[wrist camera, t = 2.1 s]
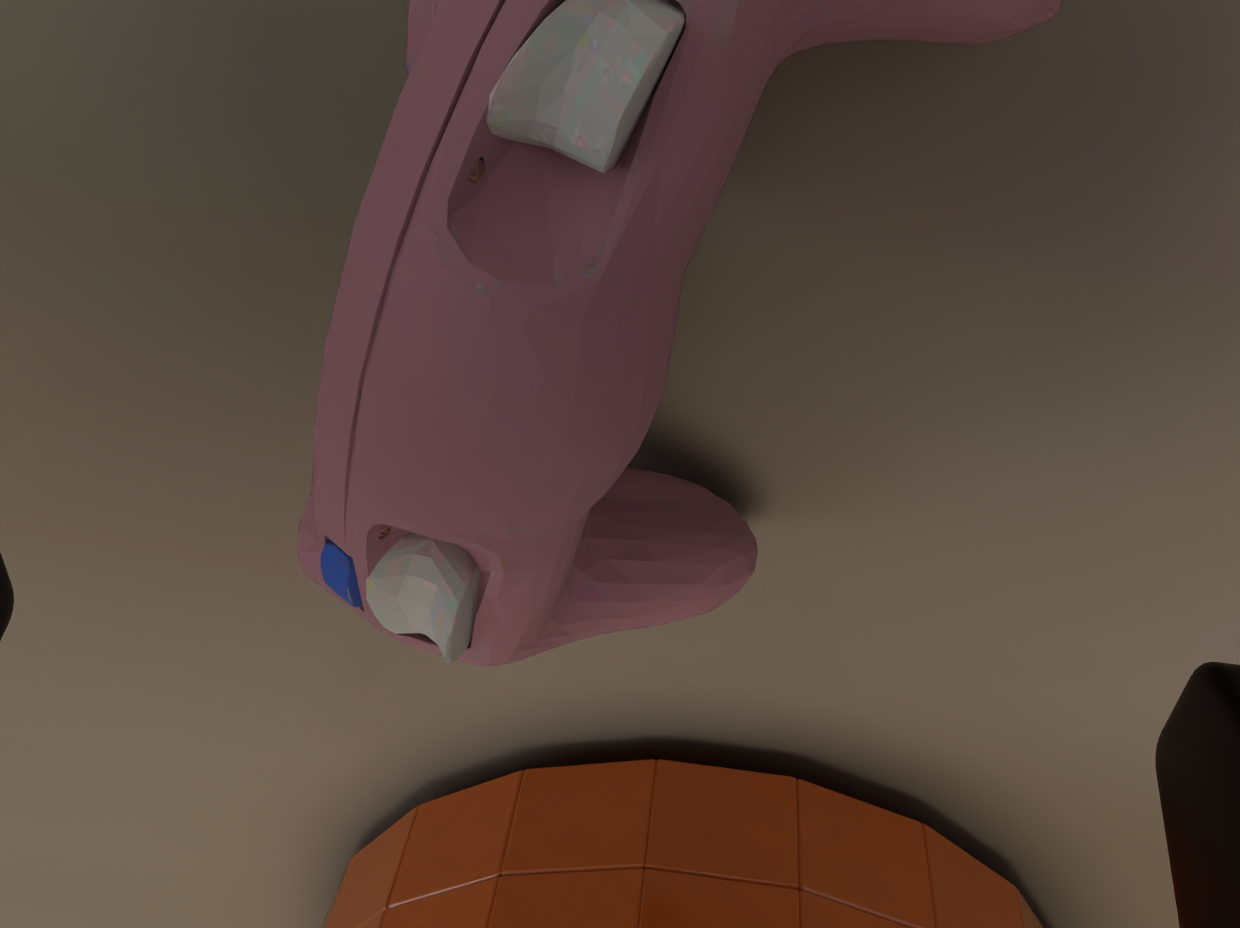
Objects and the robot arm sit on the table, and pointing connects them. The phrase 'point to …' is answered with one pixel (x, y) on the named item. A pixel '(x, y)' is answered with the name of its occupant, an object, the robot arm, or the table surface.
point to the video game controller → (547, 313)
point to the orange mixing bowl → (665, 858)
